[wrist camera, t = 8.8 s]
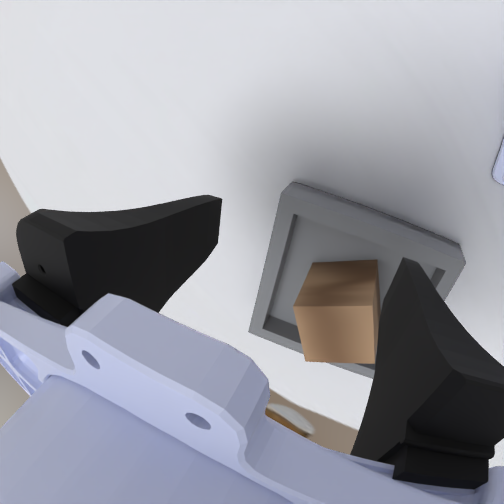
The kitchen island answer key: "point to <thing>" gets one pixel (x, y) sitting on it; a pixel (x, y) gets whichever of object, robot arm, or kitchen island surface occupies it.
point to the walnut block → (339, 312)
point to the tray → (339, 257)
